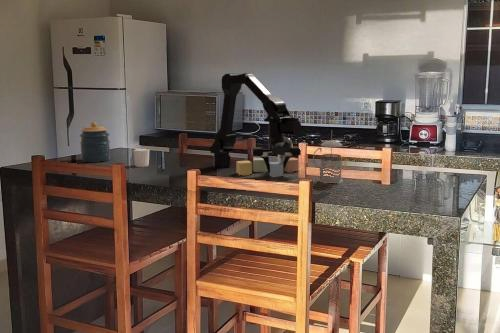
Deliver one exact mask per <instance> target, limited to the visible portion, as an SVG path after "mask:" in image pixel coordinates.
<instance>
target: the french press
mask: <svg viewBox="0 0 500 333" xmlns="http://www.w3.org/2000/svg"><path fill="white" fill-rule="evenodd" d="M335 116H336V115H335V114H330V115H329V118H331V119H333V118H336V117H335ZM330 137H331V138H330V140H326V141H324V142H321V144H320V147H319V148H317V149H316V150H314V151H313V152H314V153H313V156H312V161H313V164H314V166H315V167H317V168H319V178H318V179H317V180H318V181H320V182H324V183H323V184H327V183H337V184H342V183H341V182H343V181H344V180H343V179H342V164H343V163H342V161H343V159H341V158H340V157H342V155H341V154H337V153H335V154H334V153H332V152H333V150H332V149H333V148H341V147H343V144H342V143H341V142H339V141H337V140H334V139H333V131H331V136H330ZM322 148H330V153H324V154H321V157H322V158H321V159H320V165H318V164H317V163H316V160H315V154H316V152H317V151H319V150H320V153H321V152H322V151H323V150H322ZM323 169H324V170H323ZM329 169H332V170H334V171H336V172H334V171H332V170H329ZM338 170H340V171H338ZM323 171H325V172H324V173H323ZM326 172H327V173H326ZM328 172H331V173H333V174H335V175H333V174H331V173H328ZM339 173H340V174H339ZM324 174H328V175H331V176H334V177H330V176H323V175H324ZM338 174H339V175H338ZM318 181H317V182H318ZM320 182H319V183H320ZM343 183H344V182H343Z"/></svg>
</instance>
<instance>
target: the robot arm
mask: <svg viewBox="0 0 500 333" xmlns="http://www.w3.org/2000/svg"><path fill="white" fill-rule="evenodd" d="M243 85H245V86H246V87H247V88H248V89H249V90H250V91H251V93H252V94H254V96H255V97H256V98H257V99H258V100H259V102H261V104H262V107H263V110H264V112H265V113H266V114H267V117H266V118H264V120H263V121H264V122H267V123H268V148H266V149H265V148H263V147H261V146H260V147H259V146H253V147H251V151H250V152H251V153H250V154H251V156H252V157H259V158H263V159H264V162H265V164H266V170H267V173H268V174H269V173H270V167H269V162H270V158H269V155H272V156H277V155H283V158H282V163H283V173H285V171H284V169H285V167H286V164H287V162H288V160H289V159H290V158H294V157H295V156H302V150H300V149H301V148H300V147H298V146H293V147H290V142H285V143H284V139H283V137H284V135H285V136H295V137H298V136H299V135H301V132H302V126H303V125H302V123H301V122H300V120H299V117H296V116H295V117H292V115H291V113H290V112H289V110H288V108H287V104H286V102H285V101H283V100H282V99H281V98H279V97H277V96H275V95H273V94H271V92H269V90H267V88H266V87H265V86H264V85H263V84H262V83H261V82H260V81H259V79H257V78H256V77H255V75H254V73H251V72H245V73H235V72H234V73H225V74H223V75H222V77H221V89H222V92H223V94H224V95H223V104H222V113H221V120H220V126H219V127H220V128H219V129H218V130H217V132H216V134H215V136H214V137H215V138H214V142H213V143H212V144H211V145H210V147H209V152H210V153H211V154H213V168H214V169H216V168H217V169H218V168H220V169H221V168H223V169H224V168H230V166H231V155H230V153H231V152H233V148H234V147H235V145H236V144H237V141H236V139H237V133H234V130H233V126H234V118H235V117H234V116H235V110H236V101H237V95H238V94H239V93H240V91H241V90H242V86H243ZM299 148H300V149H299ZM293 156H294V157H293Z"/></svg>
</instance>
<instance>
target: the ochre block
mask: <svg viewBox="0 0 500 333" xmlns="http://www.w3.org/2000/svg"><path fill="white" fill-rule="evenodd" d="M235 165H236V166H235V167H236V169H235V170H236V174H237V173H238V174H239V175H238V174H237V175H238V176H240V175H242V176H251V175H250V174H252V175H253V162H251V161H250V160H237V161H236V164H235Z"/></svg>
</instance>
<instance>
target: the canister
mask: <svg viewBox="0 0 500 333" xmlns="http://www.w3.org/2000/svg"><path fill="white" fill-rule="evenodd" d="M107 131H108V129H107V128H106V127H105V126H102V125H98V123H97V122H96V121H92V122H91V124H90V125H89V126H84V128H81V133H80V134H79V137H80V142H79V144H80V160H81V162H84V163H101V162H100V161H104V162H108V161H110V159H111V153H110V148H111V147H110V142H111V141H110V140H109V136H110V133H108V132H107ZM107 160H108V161H107Z"/></svg>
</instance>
